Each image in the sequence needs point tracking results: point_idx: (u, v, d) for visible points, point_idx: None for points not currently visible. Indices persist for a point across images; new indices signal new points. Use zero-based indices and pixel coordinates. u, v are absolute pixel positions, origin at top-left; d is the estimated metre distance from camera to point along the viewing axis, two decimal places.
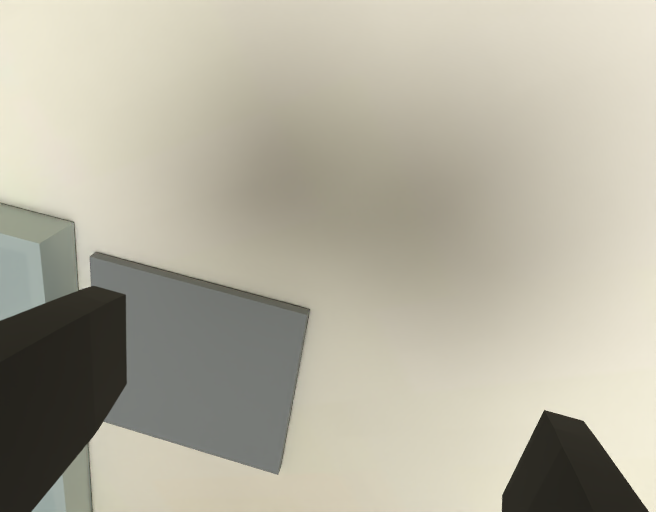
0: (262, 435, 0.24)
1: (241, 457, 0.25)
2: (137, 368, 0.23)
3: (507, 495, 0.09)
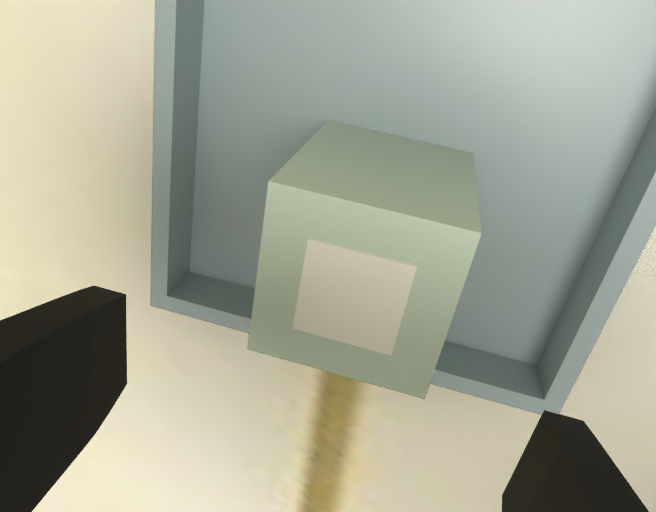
0: None
1: None
2: None
3: (507, 495, 0.09)
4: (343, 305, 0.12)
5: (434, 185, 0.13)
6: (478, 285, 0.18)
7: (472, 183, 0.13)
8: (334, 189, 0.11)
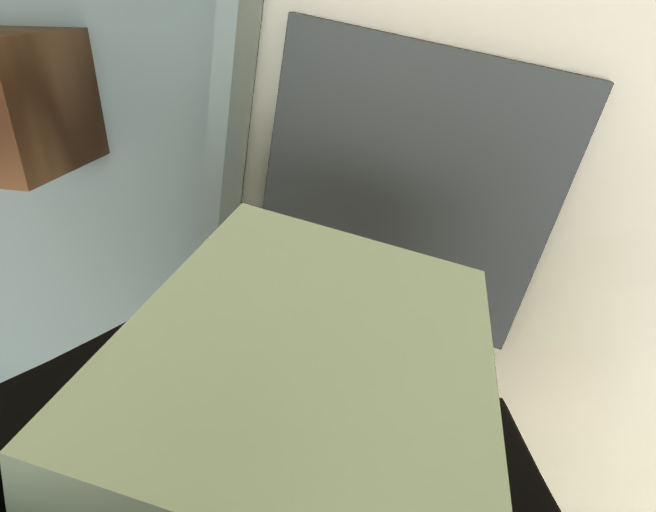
0: (493, 289, 0.17)
1: None
2: (326, 195, 0.17)
3: None
4: None
5: (412, 395, 0.06)
6: None
7: (488, 375, 0.07)
8: (172, 460, 0.05)
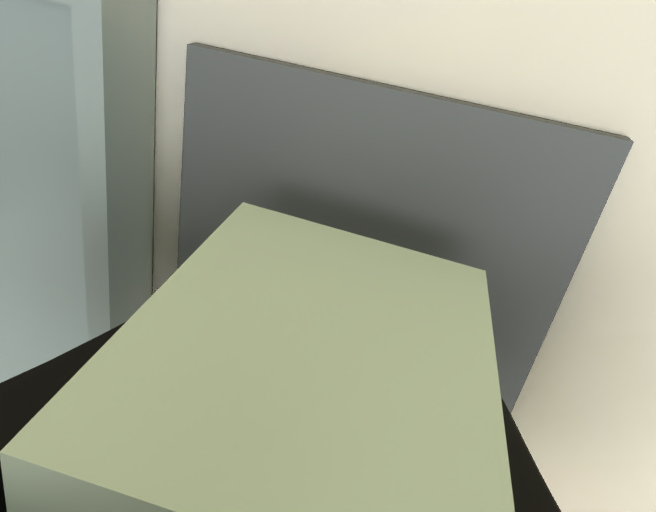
0: None
1: None
2: None
3: None
4: None
5: (414, 395, 0.06)
6: None
7: (489, 374, 0.07)
8: (173, 461, 0.05)
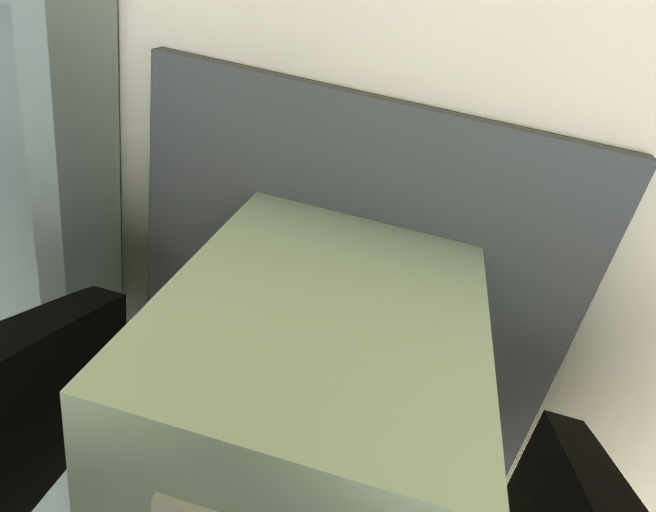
0: None
1: None
2: None
3: None
4: None
5: (414, 350, 0.07)
6: None
7: (483, 333, 0.08)
8: (206, 398, 0.06)
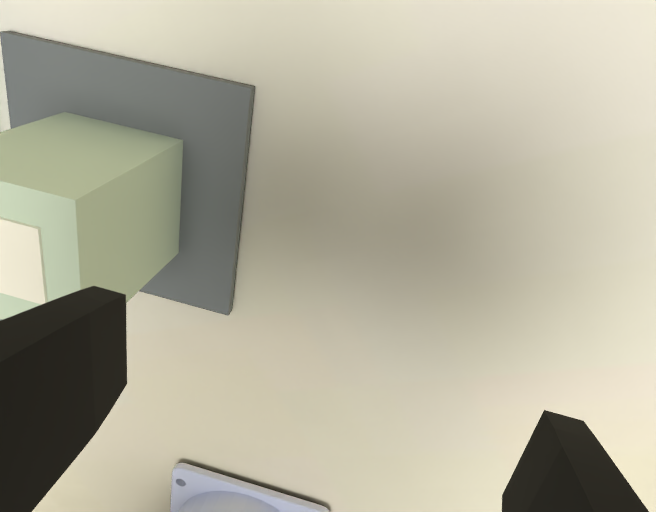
0: (208, 262, 0.21)
1: (186, 295, 0.21)
2: None
3: (507, 495, 0.09)
4: (1, 263, 0.15)
5: (90, 164, 0.15)
6: None
7: (135, 163, 0.16)
8: None
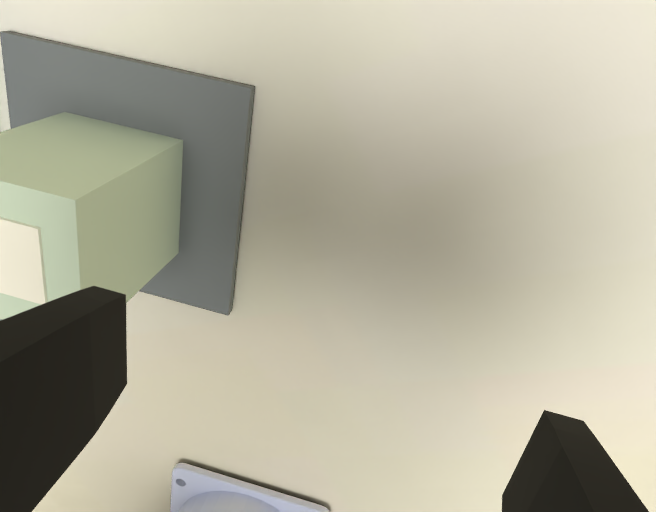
0: (208, 262, 0.21)
1: (186, 295, 0.21)
2: None
3: (507, 495, 0.09)
4: (1, 263, 0.15)
5: (90, 164, 0.15)
6: None
7: (135, 163, 0.16)
8: None
